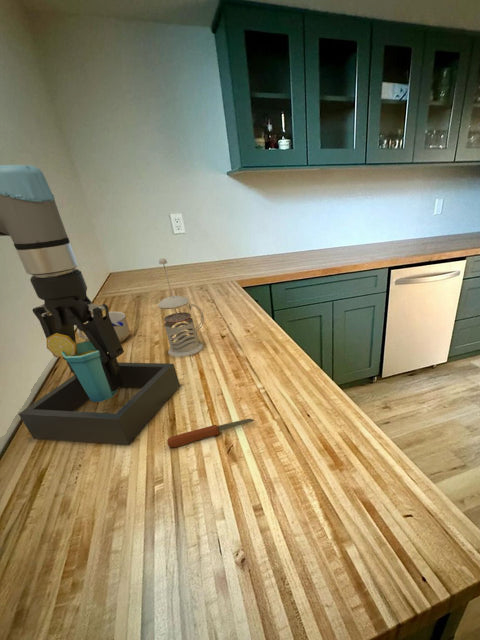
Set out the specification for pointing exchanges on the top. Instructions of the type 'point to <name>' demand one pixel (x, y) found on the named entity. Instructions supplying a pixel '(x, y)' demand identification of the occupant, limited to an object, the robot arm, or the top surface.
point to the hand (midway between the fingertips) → (102, 386)
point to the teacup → (120, 330)
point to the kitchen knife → (202, 433)
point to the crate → (108, 428)
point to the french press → (185, 342)
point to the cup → (84, 364)
